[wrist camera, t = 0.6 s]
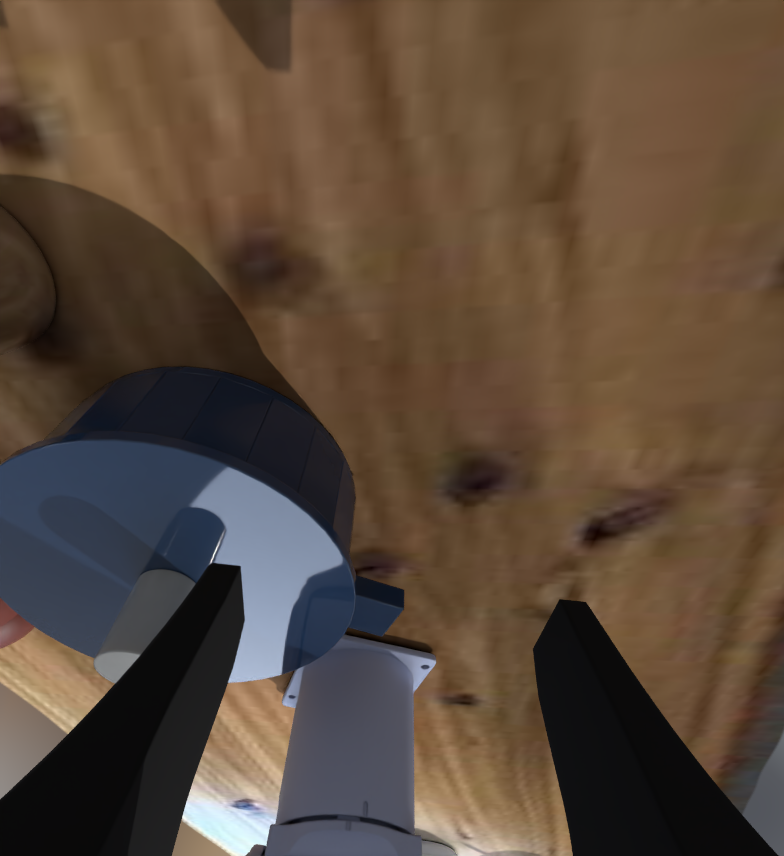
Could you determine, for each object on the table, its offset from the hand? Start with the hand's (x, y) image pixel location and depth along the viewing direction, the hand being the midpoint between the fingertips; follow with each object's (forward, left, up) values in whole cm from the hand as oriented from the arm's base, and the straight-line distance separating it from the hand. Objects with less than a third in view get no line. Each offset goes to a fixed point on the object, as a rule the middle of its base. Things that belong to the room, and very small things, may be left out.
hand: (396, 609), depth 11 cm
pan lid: (-8, +6, -5) cm, 12 cm away
